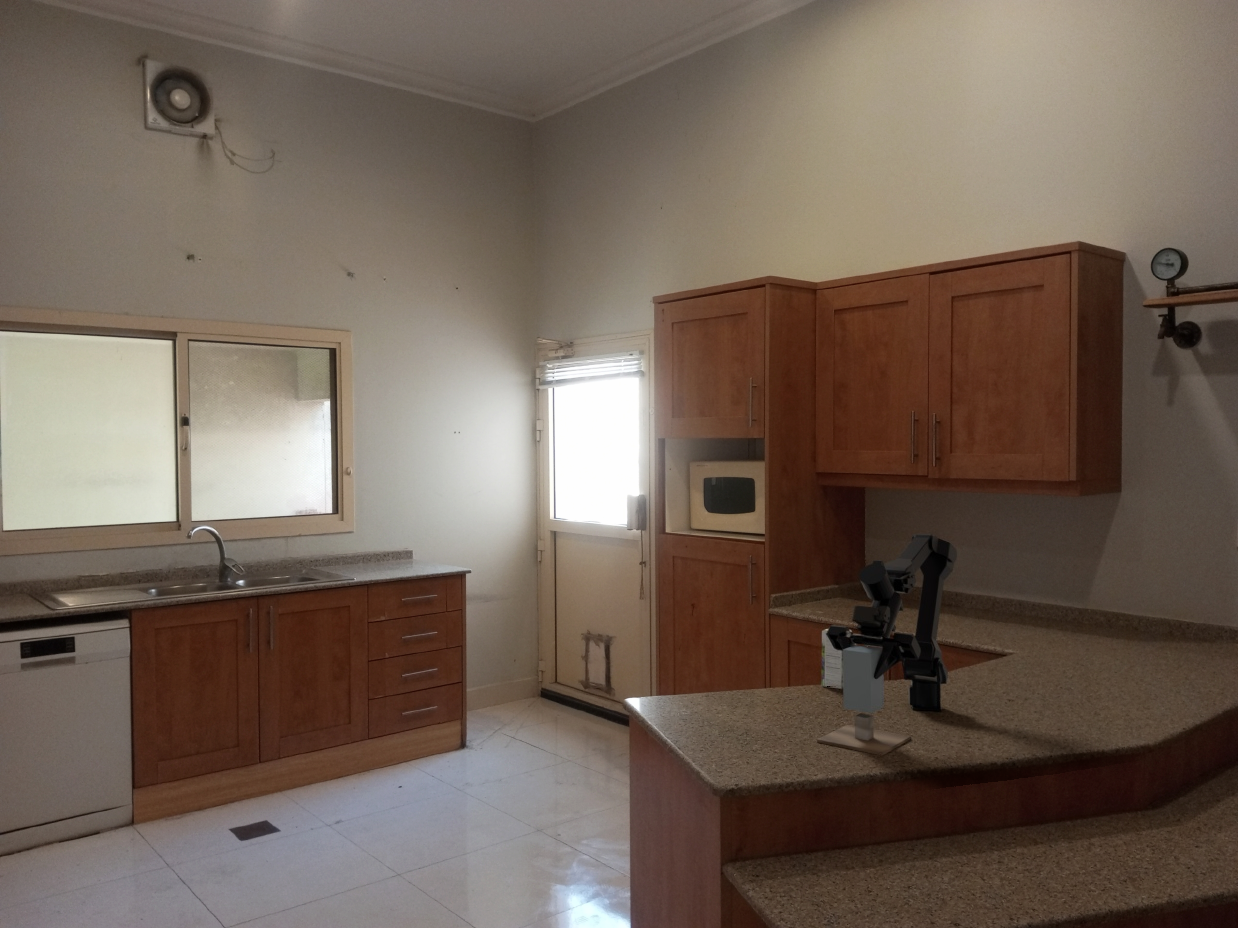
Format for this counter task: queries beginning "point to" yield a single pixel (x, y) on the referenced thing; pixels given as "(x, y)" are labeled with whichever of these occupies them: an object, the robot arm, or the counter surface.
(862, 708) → the tall slate pillar
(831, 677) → the syrup box
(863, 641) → the robot arm
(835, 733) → the post base
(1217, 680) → the counter surface
